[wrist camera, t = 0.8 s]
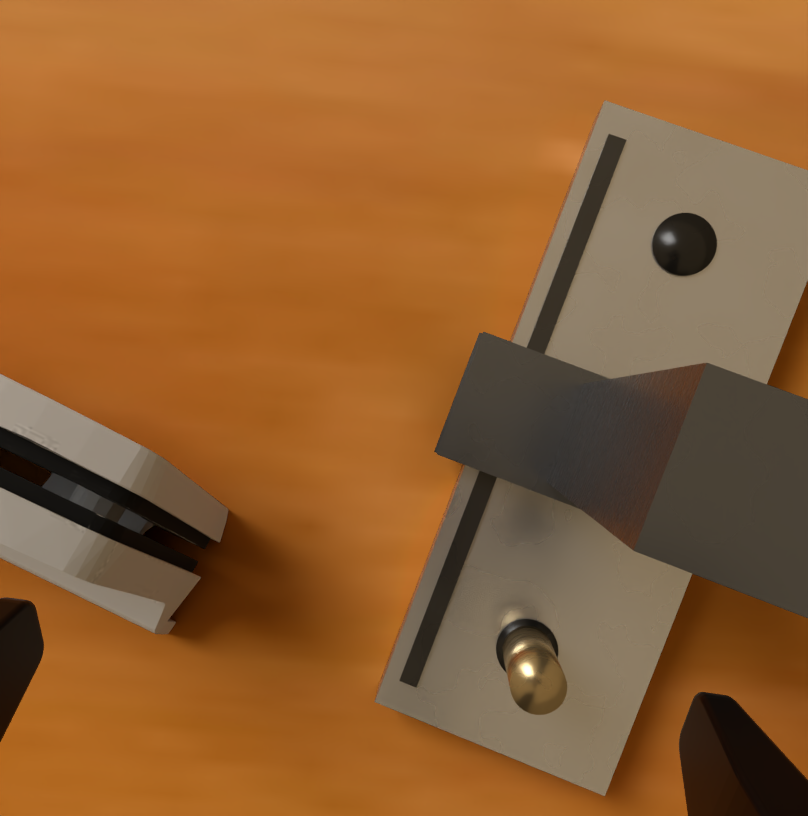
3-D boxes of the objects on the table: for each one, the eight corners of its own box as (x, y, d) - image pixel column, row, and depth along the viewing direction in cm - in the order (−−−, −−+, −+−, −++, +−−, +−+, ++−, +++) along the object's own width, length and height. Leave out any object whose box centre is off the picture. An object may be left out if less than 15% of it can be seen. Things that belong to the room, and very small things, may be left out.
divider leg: (727, 560, 23) (1040, 735, 11) (435, 448, 23) (419, 494, 11) (772, 446, 22) (1140, 492, 11) (477, 336, 23) (507, 262, 11)
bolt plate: (595, 771, 24) (628, 856, 19) (379, 683, 24) (363, 746, 20) (820, 197, 23) (908, 148, 19) (594, 119, 24) (628, 52, 19)
